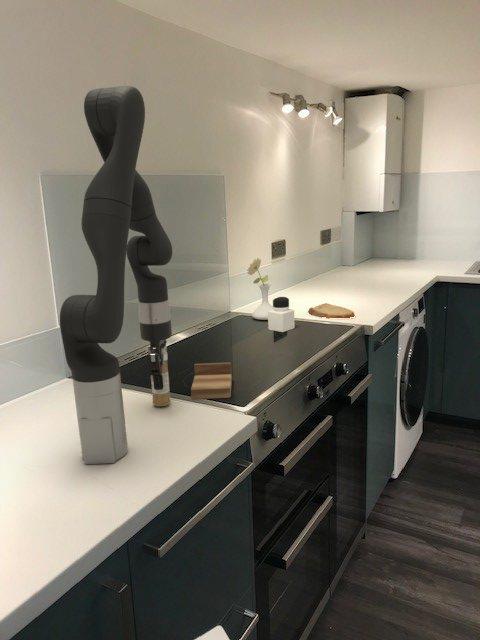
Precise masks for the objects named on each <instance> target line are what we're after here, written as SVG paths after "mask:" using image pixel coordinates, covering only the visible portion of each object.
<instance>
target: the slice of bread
mask: <svg viewBox="0 0 480 640" xmlns="http://www.w3.org/2000/svg"><path fill="white" fill-rule="evenodd" d="M307 312H308V314H309V315H311V316H314V317H317V318H318V317H319V318H322V317H326V318H325V319H330V318H350V317H354V316H355V317H356V315H355V312H354V311H353V310H351V309H349V308H346V307H342V306H339V305H334V304H330V303H322V304H319V305H317V306H315V307H310V308H308V311H307Z"/></svg>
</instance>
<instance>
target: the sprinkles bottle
mask: <svg viewBox="0 0 480 640" xmlns="http://www.w3.org/2000/svg"><path fill="white" fill-rule="evenodd" d="M168 359H169V357H168V351H167V352H166V351H165V353H164V365H163V366H162V371H163V374H162V375H163V389H162V390H155V389H154V382H153V375H150V382H151V392H152V394H151V395H152V405H153V406H155V407H165V406H168V405H170V404H171V402H172V401H171V396H170V377H169V370H168V368H169V367H168ZM160 362H161V359H160ZM154 370H158V368H154Z"/></svg>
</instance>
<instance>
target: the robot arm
mask: <svg viewBox="0 0 480 640" xmlns="http://www.w3.org/2000/svg"><path fill="white" fill-rule="evenodd" d="M86 93H87V94H86V95H85V97H84V99H83V100H84V101H83V112H84V115H85V121H86V123H87V127H88V129H89V131H90V134H91V136H92V138H93V141H94V143H95V145H96V147H97V149H98V152H99V155H100V156H101V159H102V160H103V162H104V163H103V164H102V165H101V167H100V168H99V169H98V171H97V173H96V174H95V176H94V177H93V178H92V180H91V181H90V183H89V184H88V186H87V188H86V191H85V193H84V197H83V206H82V214H81V230H82V234H83V237H84V239H85V241H86V244H87V247H88V248H89V250H90V253H91V254H92V256H93V259H94V263H95V266H96V272H97V273H96V274H97V286H96V294H73V295H70V296H68V297H67V298H65V300H64V301H63V303H62V305H61V307H60V311H59V328H60V334H61V339H62V345H63V351H64V356H65V361H66V364H67V366H68V368H69V371H70V372H71V377H72V384H73V385H72V386H73V394H74V401H75V409H76V418H77V425H78V432H79V433H78V434H79V440H80V441H79V442H80V450H81V457H82V459H83V464H84V465H98V464H116V462H117V461H118V460H120V459H122V458H123V457H124V456H126V454H127V453H128V451H129V447H128V438H127V437H128V436H127V427H126V419H125V418H126V417H125V410H124V409H125V406H124V398H123V397H124V396H123V390H122V381H121V380H122V377H121V369H120V361H119V359H118V358H117V357H116V356H115V355H114V354H112V353H110V352H109V351H106V349H104V348H103V347H102V346H100V344H112V343H114V342H115V341H116V340H117V339H118V338H119V336H120V334H121V332H122V328H123V323H124V317H125V276H126V275H125V274H126V259H127V260H128V263H129V266H130V268H131V271H132V274H133V277H134V280H135V283H136V285H137V286H136V287H137V297H138V320H139V321H138V322H139V332H140V339H142V340H143V341H146V342H149V346H148V347H147V355H146V357H147V363H148V367H149V368H148V369H149V375H150V376H151V375H153V382H154V389H155V390H162V389H163V375H162V374H163V371H162V366H163V365H164V353H165V351H166V352H167V353H168V351H167V350H168V349H167V348H168V347H167V346H168V345H167V344H168V341H167V340H168V339H171V337H172V336H173V333H172V332H173V331H172V319H171V318H172V317H171V307H170V303H169V294H168V293H169V291H168V283H167V282H168V281H167V279H166V277H165V276H163V275H161V274H156V273H153V272H152V271H151V270H150V268H149V266H150V267H153V266H155V267H158V266H165V265H168V264H169V263H170V261H171V259H172V258H173V246H172V242H171V240H170V237H169V236H168V234H167V233H166V231H165V229H164V228H163V225H162V224H161V222H160V220H159V218H158V216H157V214H156V213H157V212H156V209H155V206H154V205H155V204H154V200H153V197H152V193H151V190H150V188H149V186H148V184H147V183H146V181H145V179H144V178H143V177H142V176H141V174H140V173H139V172H138V170H136V169H137V162H138V158H139V157H138V156H139V154H140V153H139V152H140V149H141V148H140V147H141V143H142V138H143V133H144V128H145V121H146V120H145V119H146V107H145V101H144V97H143V95H142V92H141V91H140V90H139V89H138V88H137V87H134V86H130V85H122V86H121V85H120V86H113V87H112V86H111V87H102V88H101V87H100V88H94V89H91V90H89V91H88V92H86ZM130 231H134V232H138V233H140V234H143V235H134V236H132V237H130V239H129V240H128V238H129V233H130ZM160 359H161V362H160ZM154 368H158V370H154Z"/></svg>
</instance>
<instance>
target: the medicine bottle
mask: <svg viewBox="0 0 480 640" xmlns="http://www.w3.org/2000/svg"><path fill="white" fill-rule="evenodd" d="M272 306H273V309H274V310H271V311H268V320H267V322H268V323H267V324H268V325H267V326H268V330H269V331H274V332H280V333H284V332H288V331H291V330H293V329H295V324H296V323H295V309H290V299H289V297H286V296H276V297H273V298H272Z"/></svg>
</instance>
